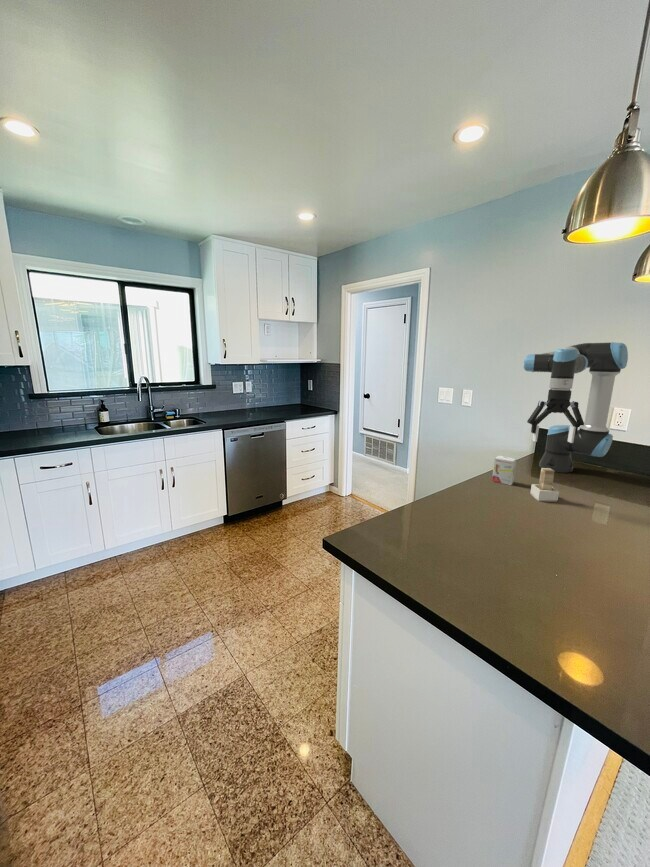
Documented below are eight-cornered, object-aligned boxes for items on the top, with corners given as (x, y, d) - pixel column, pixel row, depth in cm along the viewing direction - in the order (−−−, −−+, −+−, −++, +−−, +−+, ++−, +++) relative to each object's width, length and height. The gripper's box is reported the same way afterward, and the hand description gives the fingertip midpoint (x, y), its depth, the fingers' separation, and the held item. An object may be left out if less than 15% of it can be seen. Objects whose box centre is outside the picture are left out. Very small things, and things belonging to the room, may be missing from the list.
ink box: (491, 481, 166) (494, 457, 164) (494, 478, 170) (496, 455, 168) (511, 485, 161) (514, 460, 159) (513, 482, 165) (516, 458, 162)
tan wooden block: (537, 494, 149) (541, 467, 146) (546, 495, 148) (550, 468, 146) (541, 498, 146) (545, 470, 143) (550, 498, 145) (554, 470, 142)
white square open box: (530, 494, 151) (531, 484, 150) (548, 495, 150) (550, 485, 149) (538, 500, 144) (539, 490, 143) (557, 501, 143) (559, 491, 142)
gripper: (530, 389, 135) (523, 442, 140) (600, 390, 132) (591, 445, 137) (522, 387, 142) (516, 438, 147) (588, 388, 139) (579, 440, 144)
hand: (552, 441), depth 142 cm, fingers open, 13 cm apart
